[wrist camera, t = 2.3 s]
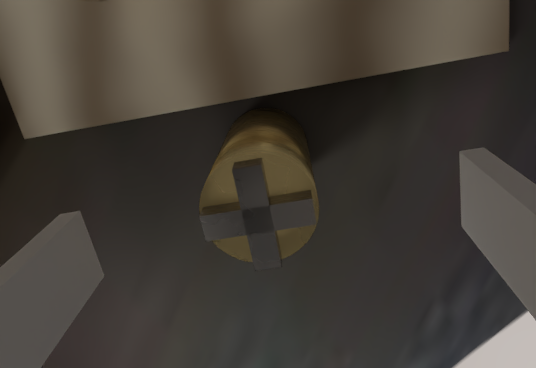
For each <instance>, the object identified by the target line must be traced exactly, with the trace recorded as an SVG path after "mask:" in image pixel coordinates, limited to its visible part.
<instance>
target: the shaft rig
mask: <svg viewBox="0 0 536 368" xmlns="http://www.w3.org/2000/svg"><path fill="white" fill-rule="evenodd" d="M505 51H509V0H0V79H1V81H2V84H3V86H4V89H5V91H6V94H7V96H8V99H9V101H10V104H11V106H12V109H13V111H14V114H15V116H16V119H17V122H18V124H19V127H20V129H21V132H22V134H23V137H24V139H28V138H34V137H39V136H45V135H50V134H56V133H61V132H66V131H72V130H77V129H83V128H88V127H94V126H99V125H105V124H110V123H116V122H121V121H127V120H132V119H138V118H143V117H149V116H154V115H160V114H165V113H171V112H176V111H182V110H187V109H193V108H198V107H204V106H209V105H215V104H220V103H226V102H231V101H237V100H242V99H248V98H253V97H259V96H264V95H270V94H275V93H280V92H286V91H291V90H297V89H302V88H308V87H313V86H319V85H324V84H330V83H335V82H341V81H346V80H352V79H357V78H363V77H368V76H374V75H379V74H385V73H390V72H396V71H401V70H407V69H412V68H418V67H423V66H429V65H434V64H440V63H445V62H451V61H456V60H462V59H467V58H473V57H478V56H483V55H489V54H494V53H500V52H505Z"/></svg>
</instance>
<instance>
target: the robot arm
mask: <svg viewBox="0 0 536 368" xmlns="http://www.w3.org/2000/svg"><path fill="white" fill-rule="evenodd" d="M459 161H460V195H461V226H462V228H463V229H464V230H465V231H466V233H467V234H468V235H469V236H470V238H471V239H472V240H473V242H474V243H475V244H476V245H477V247H478V248H479V249H480V250H481V252H482V253H483V254H484V255H485V257H486V258H487V259H488V260H489V262H490V263H491V264H492V265H493V267H494V268H495V269H496V271H497V272H498V273H499V274H500V276H501V277H502V278H503V279H504V281H505V282H506V283H507V284H508V286H509V287H510V288H511V289H512V291H513V292H514V293H515V294H516V296H517V297H518V298H519V300H520V301H521V302H522V303H523V305H524V306H525V307H526V308H527V310H528V311H529V312H530V313H531V315H532V316H533V317H534V318H535V320H536V184H535V183H533V182H532V181H530V180H529V179H528V178H526V177H525V176H523V175H522V174H520V173H519V172H518V171H516V170H515V169H513V168H512V167H511V166H509V165H508V164H506V163H505V162H504V161H502V160H501V159H499V158H498V157H497V156H495V155H494V154H492V153H491V152H490V151H488V150H487V149H485V148H484V147H483V148H476V149H470V150H464V151H459ZM103 277H104V273H103V271H102V268H101V265H100V263H99V260H98V257H97V255H96V252H95V249H94V247H93V244H92V241H91V239H90V236H89V233H88V231H87V228H86V225H85V223H84V220H83V217H82V215H81V212H80V211H76V212H70V213H63V214H60V215H58V216H57V217H56V218H55V219H54V220H53V221H52V222H51V223H49V224H48V225H47V226H46V227H45V228H44V229H43V230H42V231H41V232H39V233H38V234H37V235H36V236H35V237H34V238H33V239H32V240H30V241H29V242H28V243H27V244H26V245H25V246H24V247H23V248H21V249H20V250H19V251H18V252H17V253H16V254H15V255H14V256H13V257H11V258H10V259H9V260H8V261H7V262H6V263H5V264H4V265H2V266H1V267H0V368H41V367H42V365H43V364H44V363H45V361H46V360H47V358H48V357H49V355H50V354H51V352H52V351H53V350H54V348H55V347H56V345H57V344H58V342H59V341H60V339H61V338H62V337H63V335H64V334H65V332H66V331H67V329H68V328H69V326H70V325H71V324H72V322H73V321H74V319H75V318H76V316H77V315H78V314H79V312H80V311H81V309H82V308H83V306H84V305H85V303H86V302H87V301H88V299H89V298H90V296H91V295H92V293H93V292H94V290H95V289H96V288H97V286H98V285H99V283H100V282H101V280H102V279H103Z"/></svg>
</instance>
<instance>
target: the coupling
mask: <svg viewBox="0 0 536 368" xmlns="http://www.w3.org/2000/svg"><path fill="white" fill-rule="evenodd" d="M199 212H200V216H199V218H200V222H201V225H202V229H203V233H204V237H205V240H206V241H213V243H214V244H215V245H216V246H217V247H219V248H220V249H221V250H222V251H224V252H225V253H227V254H228V255H230V256H232V257H234V258H237V259H240V260H243V261H247V262H253V265H254V269H255V271H258V270H265V269H272V268H279V267H282V259H284V258H286V257H288V256H290V255H292V254H294V253H295V252H297V251H298V250H299V249H300V248H302V247H303V246H304V245H305V244H306V243H307V241H308V240H309V239H310V237H311V236H312V234H313V232H314V230H315V228H316V225H317V222H318V217H319V202H318V196H317V191H316V186H315V181H314V176H313V171H312V166H311V160H310V155H309V150H308V145H307V140H306V136H305V133H304V131H303V129H302V127H301V126H300V124H299V123H298V122H297V121H296V120H295V119H294V118H293V117H292V116H290V115H289V114H287V113H286V112H283V111H281V110H278V109H274V108H258V109H254V110H251V111H248V112H246V113H245V114H243V115H242V116H240V117H239V118H238V119H237V120H236V121H235V122H234V123H233V125H232V126H231V128H230V130H229V132H228V134H227V136H226V138H225V140H224V143H223V145H222V147H221V149H220V151H219V154H218V156H217V158H216V160H215V163H214V165H213V167H212V169H211V171H210V174H209V176H208V178H207V180H206V182H205V185H204V187H203V190H202V192H201V196H200V203H199Z"/></svg>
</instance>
